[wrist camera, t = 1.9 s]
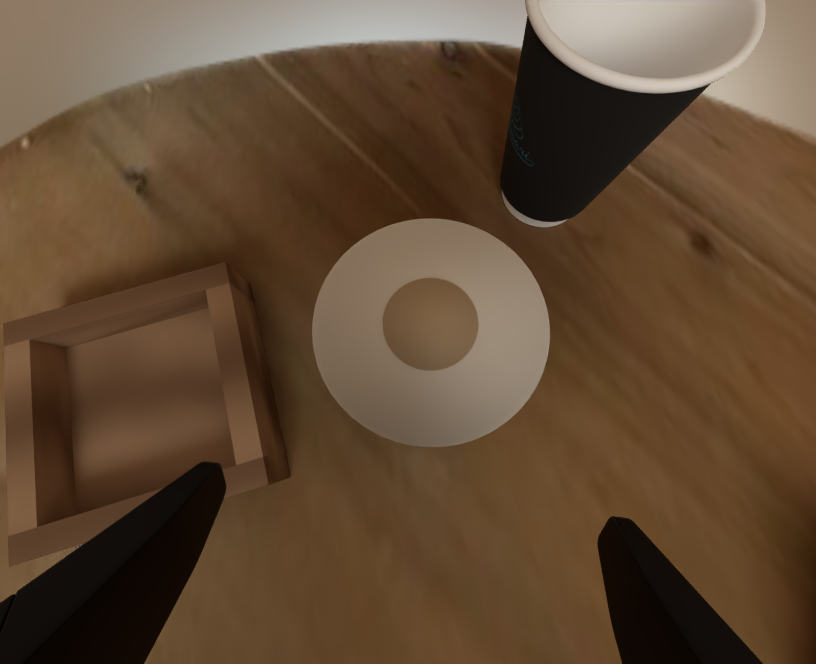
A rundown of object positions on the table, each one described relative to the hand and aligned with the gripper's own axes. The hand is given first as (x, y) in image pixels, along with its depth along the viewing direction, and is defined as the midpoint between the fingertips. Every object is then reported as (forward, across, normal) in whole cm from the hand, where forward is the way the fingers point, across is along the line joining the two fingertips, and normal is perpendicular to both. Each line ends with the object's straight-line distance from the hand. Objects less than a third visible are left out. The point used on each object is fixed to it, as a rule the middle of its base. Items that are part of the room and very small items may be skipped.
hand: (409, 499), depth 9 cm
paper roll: (+10, 0, +5) cm, 12 cm away
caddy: (+9, +13, +7) cm, 17 cm away
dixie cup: (+20, -6, -4) cm, 21 cm away
